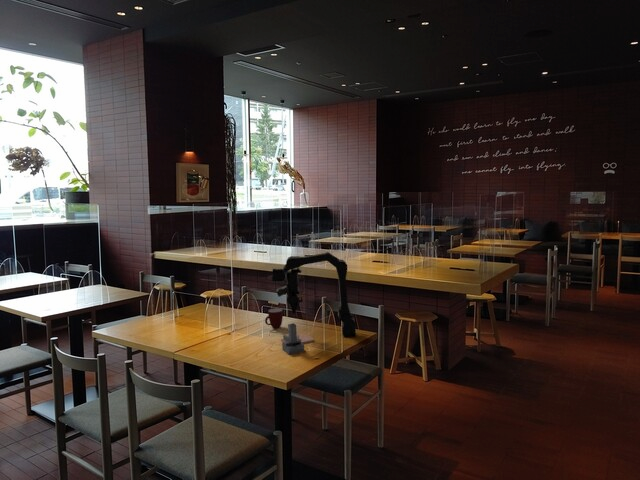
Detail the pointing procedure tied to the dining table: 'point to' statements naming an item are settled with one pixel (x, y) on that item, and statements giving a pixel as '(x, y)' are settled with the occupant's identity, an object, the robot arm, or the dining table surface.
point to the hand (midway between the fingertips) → (293, 310)
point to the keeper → (298, 338)
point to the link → (292, 341)
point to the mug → (275, 317)
